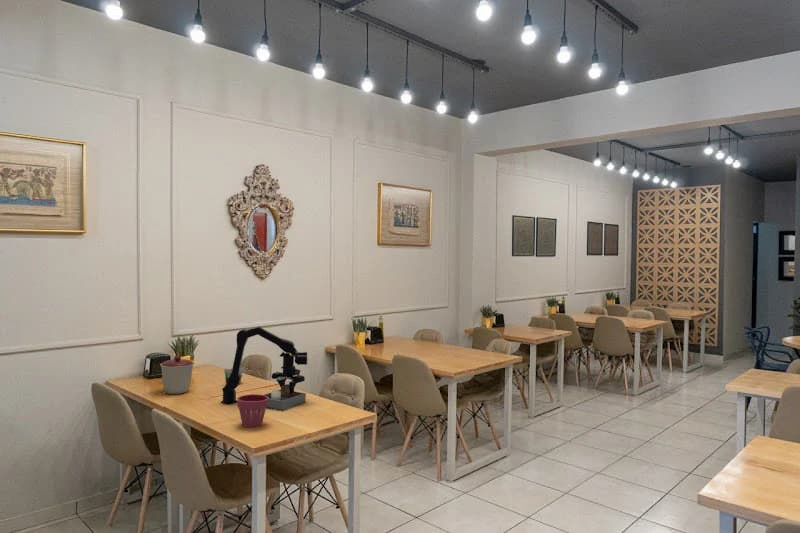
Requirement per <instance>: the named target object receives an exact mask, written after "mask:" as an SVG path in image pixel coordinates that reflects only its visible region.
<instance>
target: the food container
mask: <svg viewBox="0 0 800 533" xmlns="http://www.w3.org/2000/svg"><path fill="white" fill-rule="evenodd" d="M243 371H244V369H243V367H242V366H241V367H240V375H243V374H242V372H243ZM223 372H224V378H225V385H226V384H227V381H228V379H229V377H230V374H231V372H232V368H231V369H230V368H229V369H228V368H224V370H223Z"/></svg>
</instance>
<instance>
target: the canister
mask: <svg viewBox="0 0 800 533" xmlns="http://www.w3.org/2000/svg"><path fill="white" fill-rule="evenodd" d="M181 358H182V357H181V356H180V355H176V356H174V359H169V360H165V361H163V362H162V363H160V364H159V366H160V367H161V374H162V385H163V390H164V392H165V393H166V394H169V395H179V394H180V395H181V394H185V393H187V392H188V391H189V390H190V388H191V382H192V377H193V376H192V374H193V368H194V365H195V362H194V361H192V360H190V359H185V358H184V359H183V358H182V359H181Z"/></svg>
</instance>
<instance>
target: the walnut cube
mask: <svg viewBox="0 0 800 533" xmlns="http://www.w3.org/2000/svg"><path fill="white" fill-rule="evenodd" d="M280 389H281V395H284V396H291V395H294V391H295V389H294V390H293V393H292V394H291V393H290V386H289V384H287V383H285V385H283V386H281V387H280Z"/></svg>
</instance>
